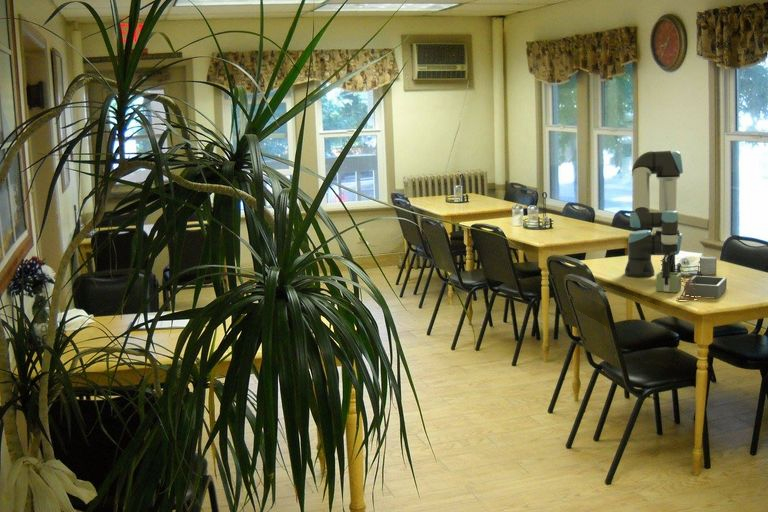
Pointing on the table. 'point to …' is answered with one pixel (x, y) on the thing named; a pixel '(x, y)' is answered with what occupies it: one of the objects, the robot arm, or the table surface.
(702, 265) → the medicine box
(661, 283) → the block
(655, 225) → the robot arm
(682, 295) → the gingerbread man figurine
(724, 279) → the grey open rectangular box
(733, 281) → the table surface
